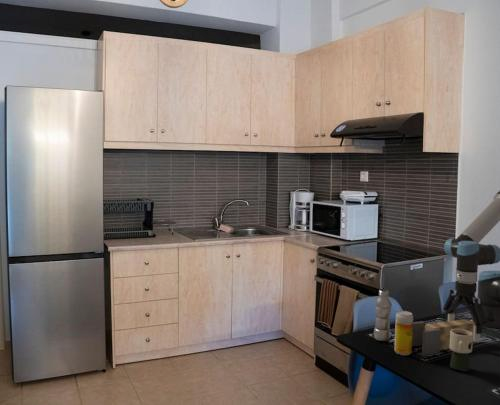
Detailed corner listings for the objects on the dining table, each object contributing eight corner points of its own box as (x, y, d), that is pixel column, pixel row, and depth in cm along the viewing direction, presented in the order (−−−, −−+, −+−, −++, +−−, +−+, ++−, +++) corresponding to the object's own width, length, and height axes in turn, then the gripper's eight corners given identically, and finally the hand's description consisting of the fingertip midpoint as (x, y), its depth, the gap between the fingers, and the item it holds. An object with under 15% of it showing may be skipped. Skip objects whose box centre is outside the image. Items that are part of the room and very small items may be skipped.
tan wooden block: (464, 341, 193) (465, 318, 192) (473, 345, 189) (474, 322, 188) (424, 347, 186) (425, 324, 185) (432, 351, 181) (433, 328, 181)
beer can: (412, 356, 176) (414, 316, 175) (395, 355, 177) (397, 315, 176) (410, 350, 182) (411, 311, 181) (393, 348, 183) (395, 310, 182)
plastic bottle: (393, 340, 192) (395, 290, 190) (385, 344, 187) (387, 293, 185) (378, 335, 196) (380, 287, 195) (370, 340, 191) (372, 290, 190)
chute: (419, 342, 190) (420, 320, 189) (441, 354, 178) (442, 330, 177) (404, 344, 187) (405, 322, 186) (426, 356, 176) (427, 332, 175)
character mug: (471, 377, 160) (473, 339, 159) (447, 373, 163) (449, 335, 161) (470, 364, 170) (472, 328, 169) (448, 361, 173) (450, 325, 171)
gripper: (435, 274, 197) (433, 325, 199) (484, 290, 174) (480, 348, 176) (450, 273, 200) (447, 323, 202) (500, 288, 177) (496, 345, 179)
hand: (463, 335), depth 189 cm, fingers open, 13 cm apart
